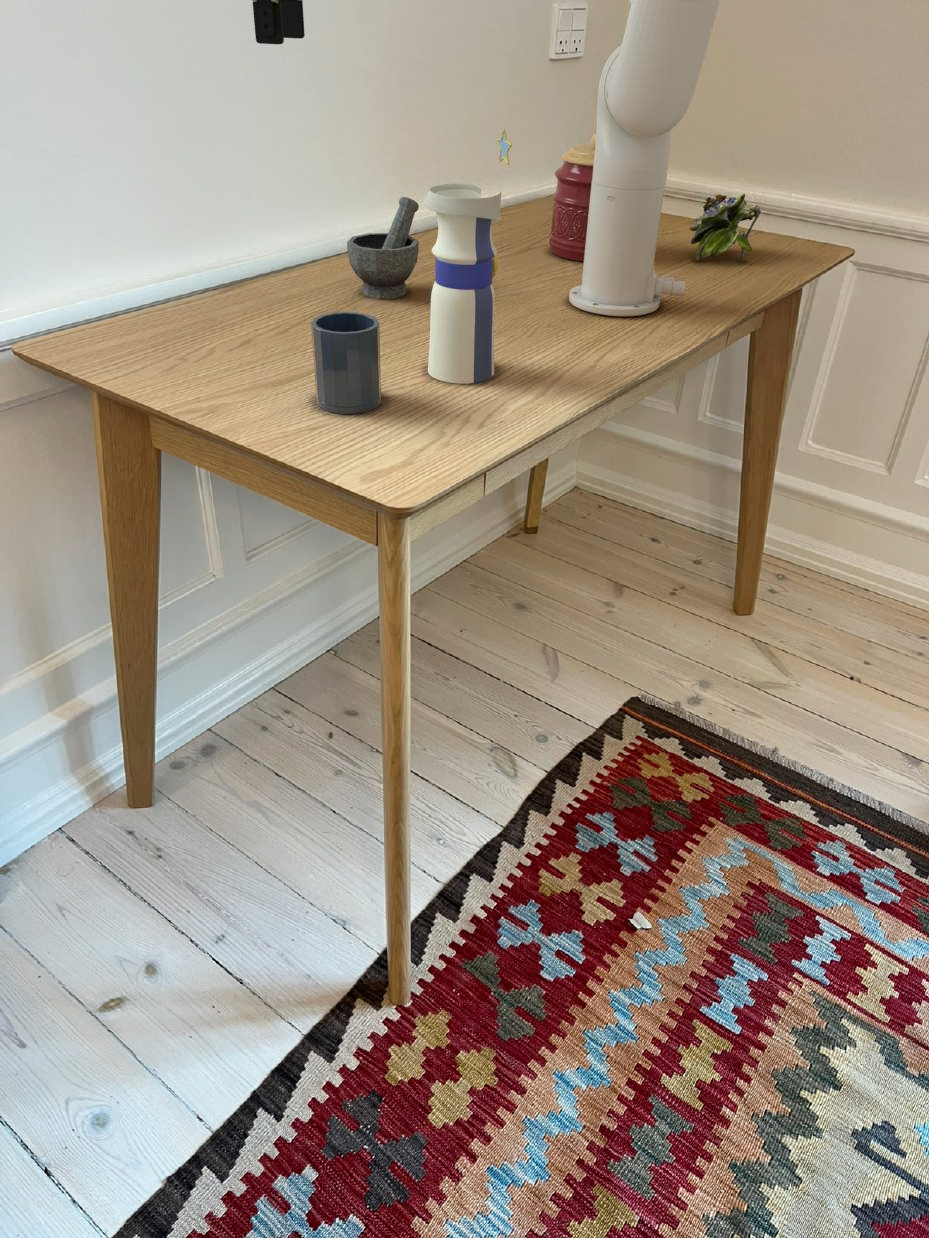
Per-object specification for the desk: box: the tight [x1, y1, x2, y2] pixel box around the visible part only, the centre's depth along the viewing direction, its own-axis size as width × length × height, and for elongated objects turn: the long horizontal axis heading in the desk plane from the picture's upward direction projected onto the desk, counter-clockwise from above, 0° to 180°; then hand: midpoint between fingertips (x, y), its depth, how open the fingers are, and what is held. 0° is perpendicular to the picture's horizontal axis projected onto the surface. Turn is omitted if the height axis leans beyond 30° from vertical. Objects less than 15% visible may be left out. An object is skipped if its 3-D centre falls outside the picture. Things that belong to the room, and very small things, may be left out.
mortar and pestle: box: [346, 196, 420, 300], centre depth 128 cm, size 11×9×12 cm
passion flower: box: [689, 192, 762, 262], centre depth 150 cm, size 11×11×12 cm
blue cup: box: [310, 311, 382, 415], centre depth 97 cm, size 7×7×8 cm
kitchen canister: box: [548, 133, 596, 262], centre depth 147 cm, size 13×13×18 cm
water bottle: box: [422, 128, 513, 385], centre depth 100 cm, size 8×9×25 cm
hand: (281, 40), depth 112 cm, fingers open, 9 cm apart
